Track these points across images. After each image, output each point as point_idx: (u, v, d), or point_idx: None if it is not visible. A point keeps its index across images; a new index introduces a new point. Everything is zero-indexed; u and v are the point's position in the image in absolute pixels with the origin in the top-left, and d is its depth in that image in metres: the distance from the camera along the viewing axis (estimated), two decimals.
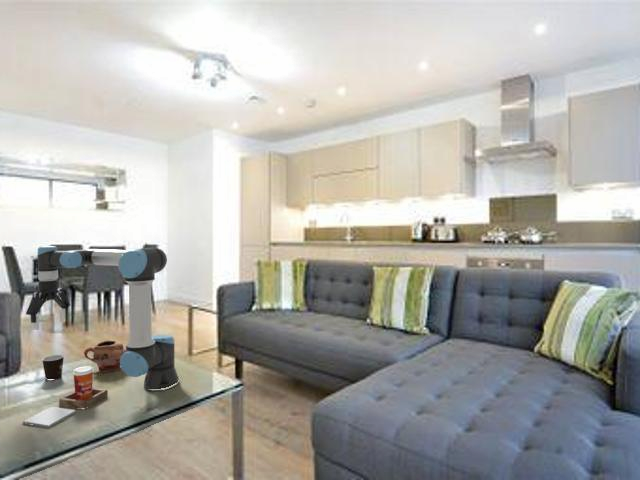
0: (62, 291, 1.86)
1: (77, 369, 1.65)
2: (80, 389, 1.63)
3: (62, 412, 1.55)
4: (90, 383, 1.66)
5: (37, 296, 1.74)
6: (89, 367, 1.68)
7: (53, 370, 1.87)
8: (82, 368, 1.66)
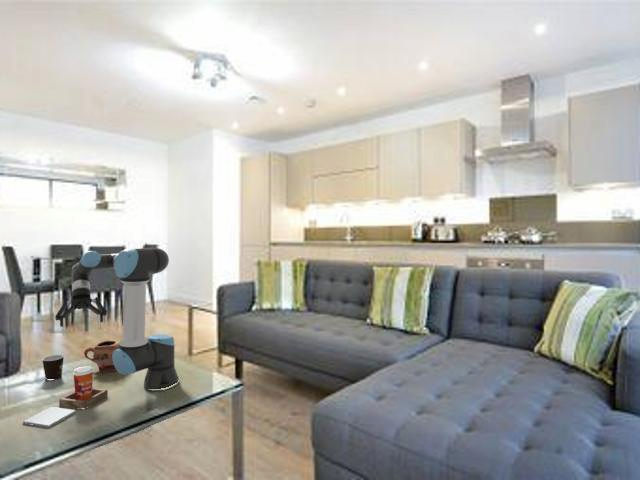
0: (96, 299, 1.87)
1: (77, 369, 1.65)
2: (80, 389, 1.63)
3: (62, 412, 1.55)
4: (90, 383, 1.66)
5: (64, 302, 1.81)
6: (89, 367, 1.67)
7: (53, 370, 1.87)
8: (82, 368, 1.66)
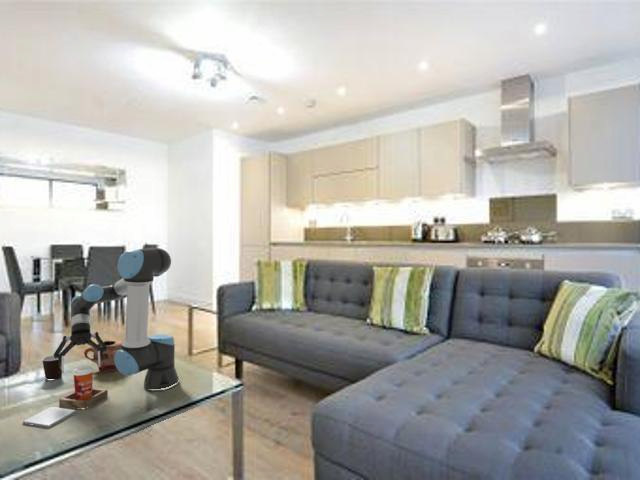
0: (96, 334, 1.81)
1: (77, 369, 1.65)
2: (80, 389, 1.63)
3: (62, 412, 1.55)
4: (90, 383, 1.66)
5: (63, 339, 1.75)
6: (89, 367, 1.67)
7: (53, 370, 1.87)
8: (82, 368, 1.66)
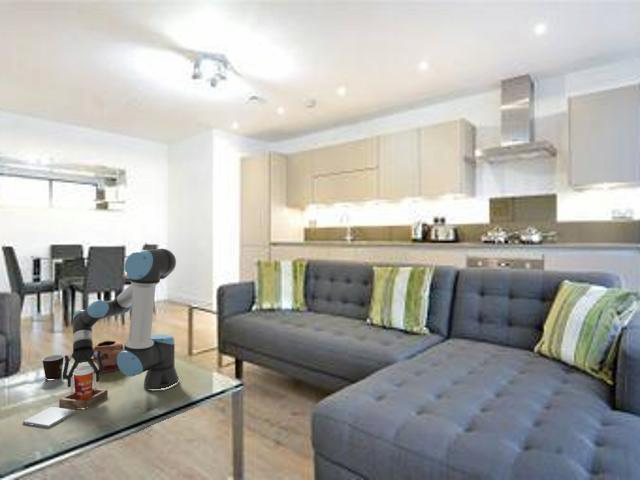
0: (98, 353, 1.75)
1: (77, 369, 1.65)
2: (80, 388, 1.63)
3: (62, 412, 1.55)
4: (90, 383, 1.66)
5: (66, 358, 1.68)
6: (89, 367, 1.68)
7: (53, 370, 1.87)
8: (82, 368, 1.66)
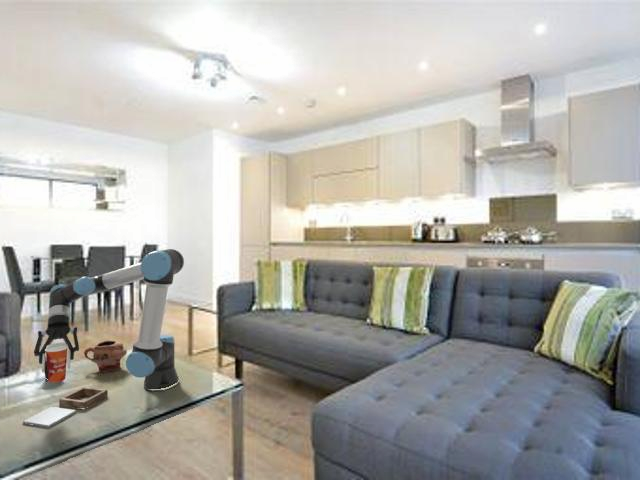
0: (74, 330, 1.64)
1: (50, 345, 1.55)
2: (52, 366, 1.53)
3: (62, 412, 1.55)
4: (63, 361, 1.56)
5: (39, 334, 1.58)
6: (63, 344, 1.57)
7: None
8: (56, 344, 1.56)
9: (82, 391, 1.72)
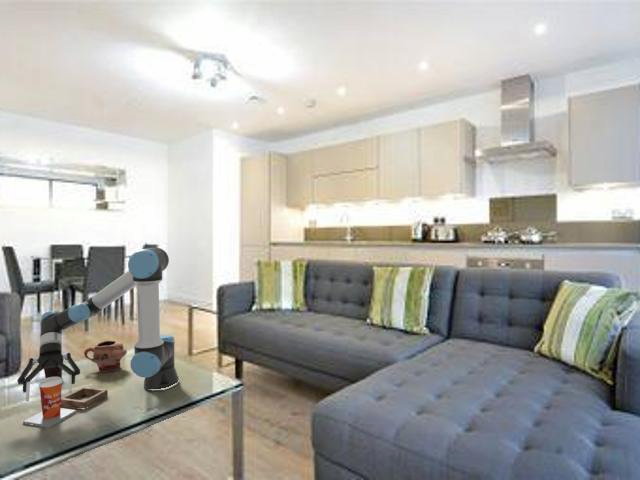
0: (68, 356, 1.61)
1: (44, 380, 1.51)
2: (47, 402, 1.49)
3: (62, 412, 1.55)
4: (58, 396, 1.52)
5: (30, 361, 1.54)
6: (57, 378, 1.53)
7: (53, 370, 1.87)
8: (49, 379, 1.52)
9: (82, 391, 1.72)
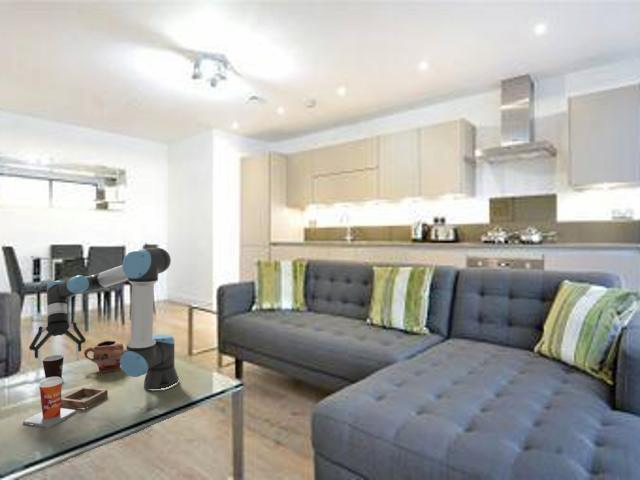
0: (74, 325, 1.76)
1: (44, 380, 1.51)
2: (47, 402, 1.49)
3: (62, 412, 1.55)
4: (58, 396, 1.52)
5: (39, 330, 1.69)
6: (57, 378, 1.53)
7: (53, 370, 1.87)
8: (49, 379, 1.52)
9: (82, 391, 1.72)
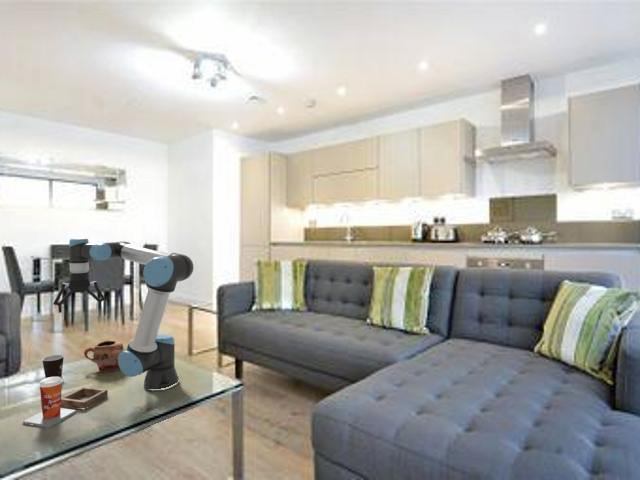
0: (95, 284, 1.82)
1: (44, 380, 1.51)
2: (47, 402, 1.49)
3: (62, 412, 1.55)
4: (58, 396, 1.52)
5: (62, 287, 1.76)
6: (58, 378, 1.53)
7: (53, 370, 1.87)
8: (50, 379, 1.52)
9: (82, 391, 1.72)
